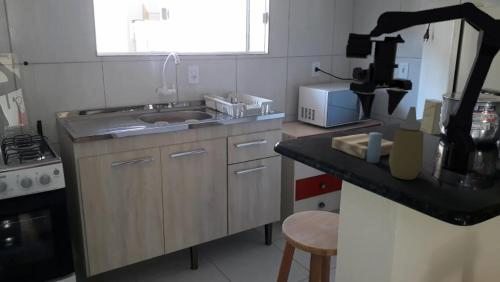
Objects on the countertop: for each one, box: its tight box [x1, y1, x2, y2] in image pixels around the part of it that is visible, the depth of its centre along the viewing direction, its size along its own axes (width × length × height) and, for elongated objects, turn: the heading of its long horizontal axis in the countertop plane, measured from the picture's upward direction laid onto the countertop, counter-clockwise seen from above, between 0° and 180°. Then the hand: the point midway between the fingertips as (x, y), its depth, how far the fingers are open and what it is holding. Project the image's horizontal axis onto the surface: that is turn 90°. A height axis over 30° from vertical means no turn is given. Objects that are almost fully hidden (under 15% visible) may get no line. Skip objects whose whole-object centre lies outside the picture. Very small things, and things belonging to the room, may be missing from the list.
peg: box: [365, 131, 383, 164], centre depth 117 cm, size 4×4×8 cm
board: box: [331, 133, 393, 160], centre depth 129 cm, size 14×14×3 cm
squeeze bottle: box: [388, 106, 425, 181], centre depth 104 cm, size 8×8×18 cm
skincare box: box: [419, 98, 443, 136], centre depth 153 cm, size 6×4×12 cm
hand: (378, 115), depth 117 cm, fingers open, 9 cm apart
